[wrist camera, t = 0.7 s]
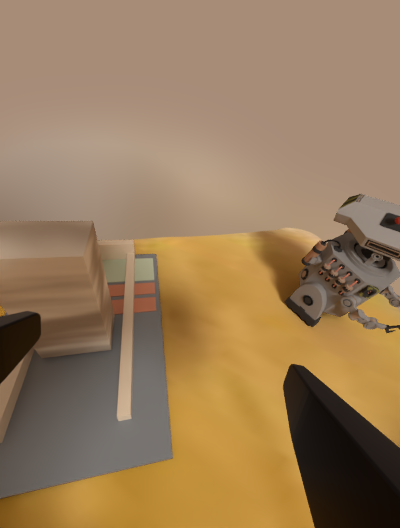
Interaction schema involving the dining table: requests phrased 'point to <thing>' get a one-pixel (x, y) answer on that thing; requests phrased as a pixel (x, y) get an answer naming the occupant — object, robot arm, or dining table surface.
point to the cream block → (57, 284)
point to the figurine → (352, 264)
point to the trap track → (92, 392)
